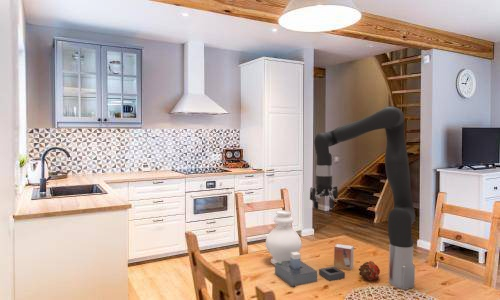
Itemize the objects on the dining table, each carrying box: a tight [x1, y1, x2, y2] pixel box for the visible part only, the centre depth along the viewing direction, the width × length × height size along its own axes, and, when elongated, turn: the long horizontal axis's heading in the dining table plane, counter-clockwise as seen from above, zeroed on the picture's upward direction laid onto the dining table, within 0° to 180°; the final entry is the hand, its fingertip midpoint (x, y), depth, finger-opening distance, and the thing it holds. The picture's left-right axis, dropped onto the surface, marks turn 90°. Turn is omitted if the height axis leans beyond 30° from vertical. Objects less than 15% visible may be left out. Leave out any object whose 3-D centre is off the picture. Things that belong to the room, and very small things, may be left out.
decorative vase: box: [265, 209, 303, 266], centre depth 180 cm, size 18×18×25 cm
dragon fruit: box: [358, 260, 381, 281], centre depth 159 cm, size 8×8×12 cm
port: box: [274, 260, 318, 288], centre depth 161 cm, size 16×12×6 cm
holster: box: [318, 265, 346, 282], centre depth 161 cm, size 8×8×3 cm
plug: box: [290, 252, 301, 269], centre depth 161 cm, size 3×3×10 cm
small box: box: [333, 243, 355, 271], centre depth 172 cm, size 8×6×10 cm
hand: (323, 208), depth 173 cm, fingers open, 8 cm apart
